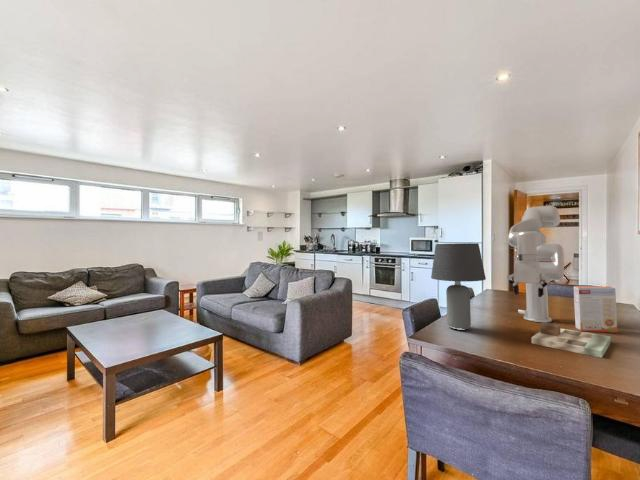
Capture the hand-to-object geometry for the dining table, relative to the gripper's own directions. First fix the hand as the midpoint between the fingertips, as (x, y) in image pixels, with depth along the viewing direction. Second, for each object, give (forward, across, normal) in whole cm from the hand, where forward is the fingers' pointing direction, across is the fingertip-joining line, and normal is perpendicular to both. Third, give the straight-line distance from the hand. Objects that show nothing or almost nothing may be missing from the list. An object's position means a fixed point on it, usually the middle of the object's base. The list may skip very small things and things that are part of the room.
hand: (528, 295), depth 138 cm
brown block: (+16, +8, 0) cm, 18 cm away
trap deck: (+18, +15, 0) cm, 24 cm away
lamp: (+19, -27, -12) cm, 35 cm away
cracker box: (+18, +19, +29) cm, 39 cm away
